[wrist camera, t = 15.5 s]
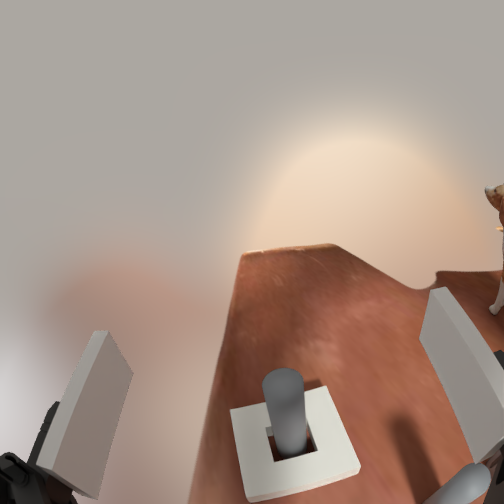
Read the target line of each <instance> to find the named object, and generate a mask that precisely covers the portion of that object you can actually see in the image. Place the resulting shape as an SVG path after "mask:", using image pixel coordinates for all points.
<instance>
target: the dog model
mask: <svg viewBox="0 0 504 504" xmlns="http://www.w3.org/2000/svg"><path fill="white" fill-rule="evenodd" d="M485 194H486V196H487V199H488V200H489V202H490V203H491V204H492V206H493V207H494V208H496V209H497V210H498V211H499V212H500V213H499V219H500V222H501V223H502V226H503V247H502V250H503V259H504V184H503V185H500V186H497V187H491V186H486V187H485ZM503 305H504V261H503V273H502V277H501V281H500V288H499V292H498V296H497V299H496V301H495V304H493V305H491V306H490V307H489V311H490V312H491V313H492V314H494V315H496V314H497V313H498V311H499V310H500V308H501V307H502V306H503Z"/></svg>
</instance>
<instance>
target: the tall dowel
mask: <svg viewBox="0 0 504 504" xmlns="http://www.w3.org/2000/svg"><path fill="white" fill-rule="evenodd" d="M262 389H263V393H264V397H265V401H266V405H267V409H268V414H269V418H270V422H271V426H272V430H273V434H274V438H275V442H276V446H277V450H278V453H279V455H280V456H281V457H282V458H283V459H285V460H286V459H290V458H294V457H298V456H301V455H304V454H305V453H306V451H307V434H306V413H305V396H304V381H303V377H302V376H301V374H300V373H299V372H297V371H296V370H294V369H290V368H279V369H276V370H273V371H271V372H270V373H268V374H267V375H266V376H265V378H264V380H263V382H262Z"/></svg>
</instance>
